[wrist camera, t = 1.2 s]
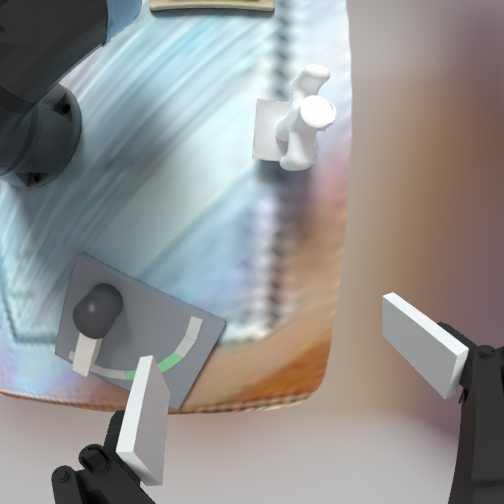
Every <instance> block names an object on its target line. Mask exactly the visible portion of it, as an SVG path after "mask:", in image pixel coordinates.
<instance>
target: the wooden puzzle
mask: <svg viewBox="0 0 504 504" xmlns="http://www.w3.org/2000/svg"><path fill="white" fill-rule="evenodd" d="M179 8H237V9H252V10H263V11H273V10H274V0H151V3H150V10H153V11H154V10H165V9H179Z"/></svg>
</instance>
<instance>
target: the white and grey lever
mask: <svg viewBox="0 0 504 504" xmlns="http://www.w3.org/2000/svg"><path fill="white" fill-rule="evenodd" d="M122 308H123V299H122V296H121V294H120V293H119V291H118V290H117V289H116V288H115V287H114V286H112V285H110V284H107V283H100V284H97V285H95V286H94V287H93V288H92V289H91V290H90V291H89V292H88V293H87V294H86V295H85V296H84V297H83V298H82V299H81V301H80V302H79V303H78V304H77V305H76V306H75V307H74V309H73V315H72V316H73V321H74V324H75V326H76V328H77V329H78V330H79V331H80V334H79V338H78V343H77V347H76V351H75V356H74V361H73V366H72V370H74V371H75V372H77V373H79V374H81V375H83V376H85V377H87V376H88V374H89V372H90V370H91V369H92V367H93V365H94V363H95V361H96V359H97V357H98V353H99V350H100V346H101V343H102V340H103V337H105V336H106V335H107V334H108V332H109V330H110V329H111V327H112V325H113V324H114V322H115V320H116V319H117V317H118V315H119V314H120V312H121V310H122Z"/></svg>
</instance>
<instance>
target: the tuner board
mask: <svg viewBox="0 0 504 504" xmlns="http://www.w3.org/2000/svg"><path fill="white" fill-rule="evenodd" d="M100 283H107V284H110V285H112V286H114V287H115V288H116V289H117V290H118V291H119V293H120V294H121V296H122V299H123V308H122V310H121V312H120V314H119V315H118V317H117V319H116V320H115V322H114V324H113V325H112V327H111V329H110V330H109V332H108V334H107V335H106V336H105V337H103V340H102V343H101V346H100V350H99V353H98V357H97V359H96V361H95V363H94V365H93V367H92V369H91V370H90V372H89V373H91V374H93V375H95V376H97V377H99V378H101V379H104V380H106V381H108V382H110V383H112V384H114V385H117V386H119V387H121V388H123V389H126V390H128V391H130V392H131V388H132V384H133V381H134V377H135V374H136V370H137V367H138V363H139V360H140V357H145V356H151V355H153V356H154V358H155V361H156V363H157V365H158V367H159V369H160V372H161V374H162V376H163V378H164V380H165V382H166V384H167V386H168V388H169V390H170V397H169V407H172V408H175V409H179V408H180V406H181V404H182V402H183V400H184V399H185V397H186V395H187V393H188V391H189V390H190V388H191V386H192V384H193V382H194V381H195V379H196V377H197V375H198V373H199V372H200V370H201V368H202V366H203V364H204V362H205V361H206V359H207V357H208V355H209V353H210V352H211V350H212V348H213V346H214V344H215V342H216V341H217V339H218V337H219V335H220V333H221V332H222V330H223V328H224V326H225V319H223V318H220V317H218V316H216V315H213V314H211V313H208V312H206V311H204V310H201V309H199V308H197V307H194V306H192V305H190V304H188V303H185V302H183V301H181V300H179V299H176V298H174V297H172V296H170V295H168V294H165V293H163V292H161V291H159V290H157V289H155V288H152V287H150V286H148V285H146V284H144V283H142V282H140V281H138V280H136V279H134V278H132V277H129V276H127V275H125V274H123V273H121V272H119V271H117V270H115V269H113V268H111V267H109V266H107V265H106V264H104V263H102V262H100V261H98V260H96V259H94V258H92V257H90V256H88V255H86V254H84V253H83V252H81V253H80V254H78V255H77V258H76V261H75V265H74V268H73V272H72V275H71V279H70V283H69V286H68V290H67V294H66V299H65V303H64V307H63V312H62V316H61V321H60V326H59V331H58V336H57V342H56V348H55V354H56V355H57V356H59V357H61V358H63V359H64V360H66V361H68V362H70V363H72V364H73V361H74V356H75V351H76V347H77V343H78V338H79V334H80V331H79V330H78V329H77V328H76V326H75V324H74V321H73V316H72V315H73V309H74V307H75V306H76V305H77V304H78V303H79V302H80V301H81V299H82V298H83V297H84V296H85V295H86V294H87V293H88V292H89V291H90V290H91V289H92V288H93V287H94V286H95V285H97V284H100Z"/></svg>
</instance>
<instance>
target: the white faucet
mask: <svg viewBox="0 0 504 504" xmlns="http://www.w3.org/2000/svg"><path fill="white" fill-rule="evenodd" d="M329 77H330V73H329V71H328V69H326V68H325V67H323V66H321V65H309V66H307V67H305V68H304V69H303V71H302V72H301V73H300V74H299V75H298V76H297V77H296V78H295V80H294V82H293V87H292V102H291V103H289V102H282V101H274V100H267V99H258V98H257V106H256V118H255V130H254V143H253V155H252V159H260V160H271V161H280V165H281V167H282V168H283V169H285V170H289V171H298V170H305V169H308V168H309V167H310V166H311V165H313V166H314V153H315V139H316V133H317V131H325V130H326V127H327V128H329V126H330V125H332V124H333V123H334V121H335V119H336V116H337V112H336V108H335V106H334V104H333V103H329V102H328V101H327V100H326V99H324V98H323V97H320V96H317V94H318V91H319V89H320V87H321V86H322V85H323V84H324V83H325V82H326V81H327V80H328V79H329Z"/></svg>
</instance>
